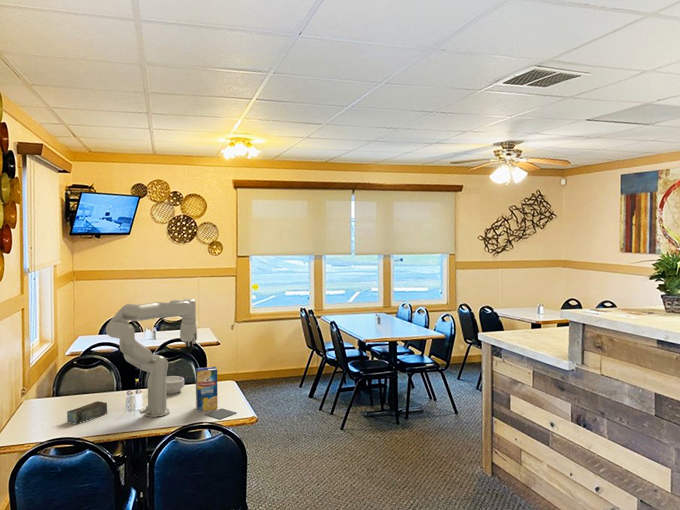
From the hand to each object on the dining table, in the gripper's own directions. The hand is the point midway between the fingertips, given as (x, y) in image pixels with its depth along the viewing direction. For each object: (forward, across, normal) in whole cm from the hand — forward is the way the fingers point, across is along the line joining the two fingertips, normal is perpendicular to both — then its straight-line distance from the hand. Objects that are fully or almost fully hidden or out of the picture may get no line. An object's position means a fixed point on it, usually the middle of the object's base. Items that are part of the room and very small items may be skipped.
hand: (189, 352), depth 307 cm
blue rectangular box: (+29, +15, 0) cm, 33 cm away
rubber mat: (+29, +29, -2) cm, 41 cm away
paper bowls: (+29, -27, +7) cm, 40 cm away
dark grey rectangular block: (+30, -23, -48) cm, 61 cm away
